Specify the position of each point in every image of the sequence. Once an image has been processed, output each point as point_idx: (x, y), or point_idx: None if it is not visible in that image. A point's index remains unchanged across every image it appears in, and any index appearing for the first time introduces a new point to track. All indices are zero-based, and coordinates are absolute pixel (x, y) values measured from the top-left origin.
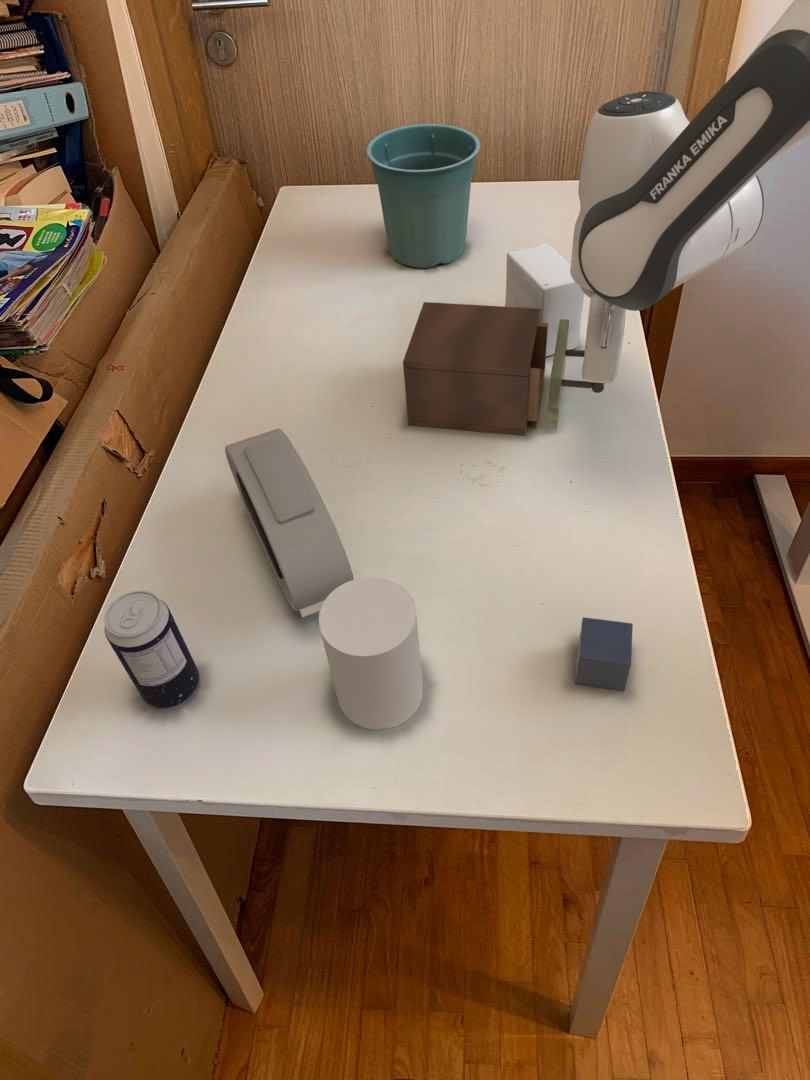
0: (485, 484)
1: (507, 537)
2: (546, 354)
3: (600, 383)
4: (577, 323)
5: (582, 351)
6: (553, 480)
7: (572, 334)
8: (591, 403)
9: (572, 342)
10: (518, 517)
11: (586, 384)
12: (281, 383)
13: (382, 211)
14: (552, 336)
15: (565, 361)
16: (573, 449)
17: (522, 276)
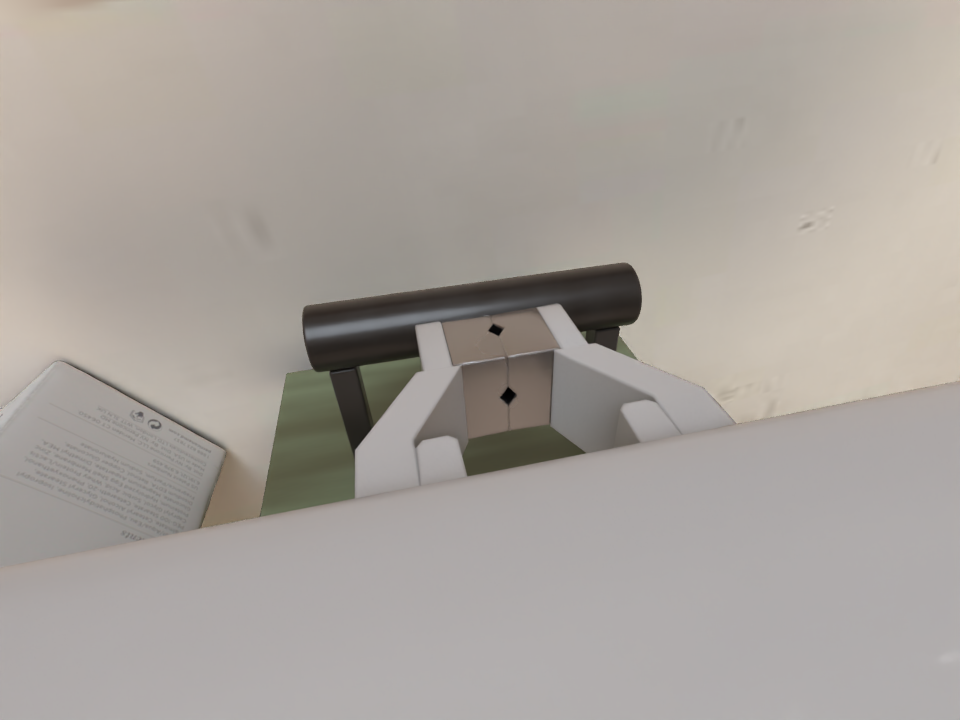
0: (768, 408)
1: (940, 325)
2: (198, 442)
3: (640, 299)
4: (7, 458)
5: (354, 422)
6: (789, 273)
7: (60, 429)
8: (414, 235)
9: (76, 397)
10: (891, 319)
11: (616, 349)
12: None
13: None
14: (155, 491)
15: (310, 413)
16: (666, 246)
17: None
